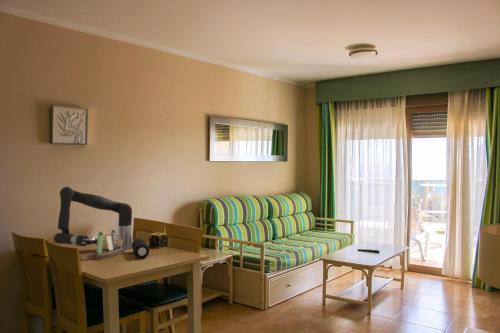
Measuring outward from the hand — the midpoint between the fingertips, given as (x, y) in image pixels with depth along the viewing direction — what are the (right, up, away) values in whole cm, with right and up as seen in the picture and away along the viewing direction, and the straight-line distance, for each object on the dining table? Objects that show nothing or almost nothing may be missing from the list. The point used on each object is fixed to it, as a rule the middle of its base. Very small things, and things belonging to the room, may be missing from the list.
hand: (99, 242), depth 282 cm
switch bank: (+3, -11, +8) cm, 14 cm away
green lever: (0, -7, 0) cm, 7 cm away
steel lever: (+7, -7, +16) cm, 18 cm away
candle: (+30, -11, +42) cm, 53 cm away
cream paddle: (+4, -7, +10) cm, 13 cm away
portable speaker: (+24, -11, +12) cm, 29 cm away
